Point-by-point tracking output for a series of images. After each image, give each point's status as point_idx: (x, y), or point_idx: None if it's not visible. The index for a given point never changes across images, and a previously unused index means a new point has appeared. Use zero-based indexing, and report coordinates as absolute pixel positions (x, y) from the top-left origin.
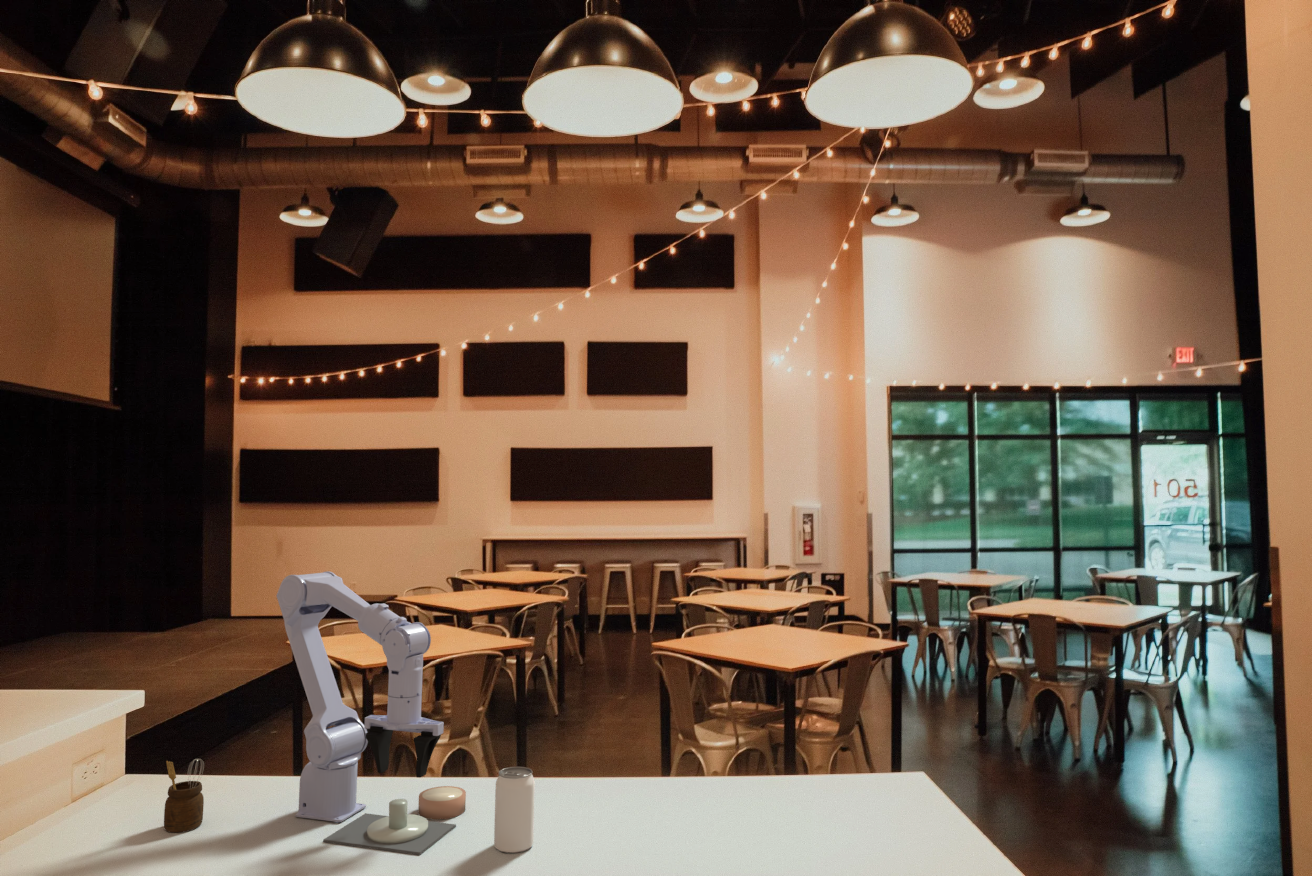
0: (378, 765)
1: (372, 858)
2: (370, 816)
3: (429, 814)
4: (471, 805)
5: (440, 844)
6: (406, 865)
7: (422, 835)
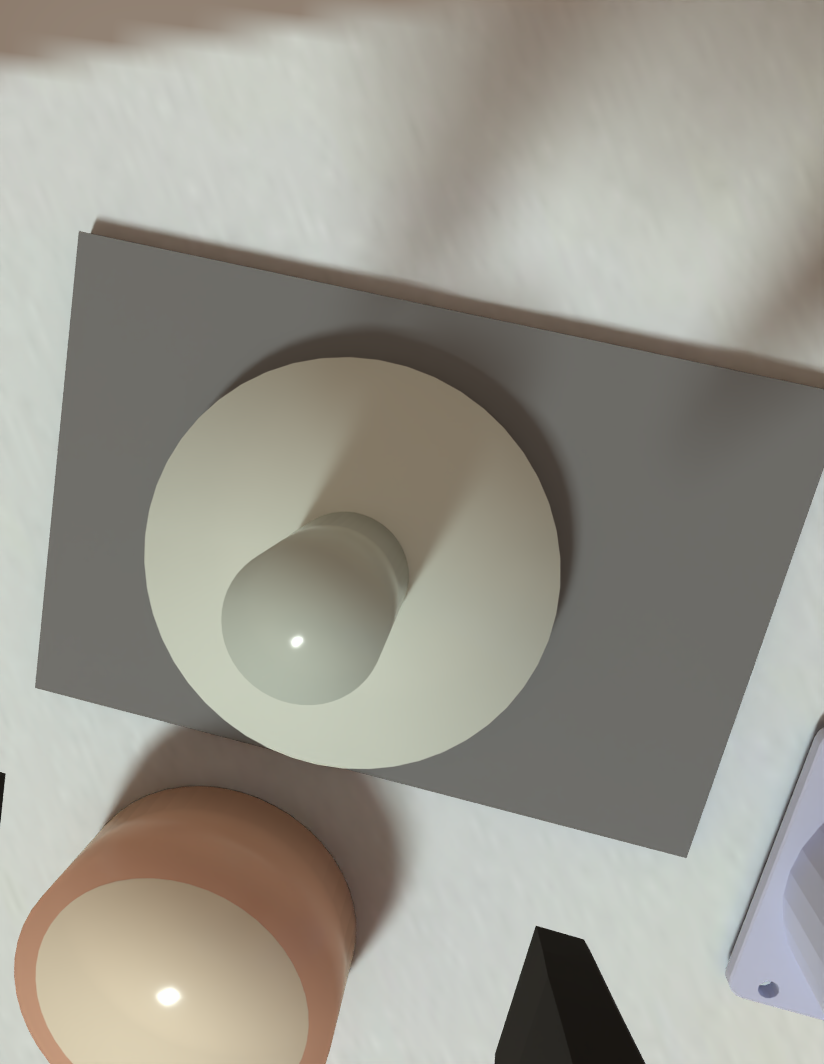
0: (588, 1008)
1: (377, 142)
2: (631, 804)
3: (234, 810)
4: None
5: (30, 412)
6: (109, 54)
7: None
